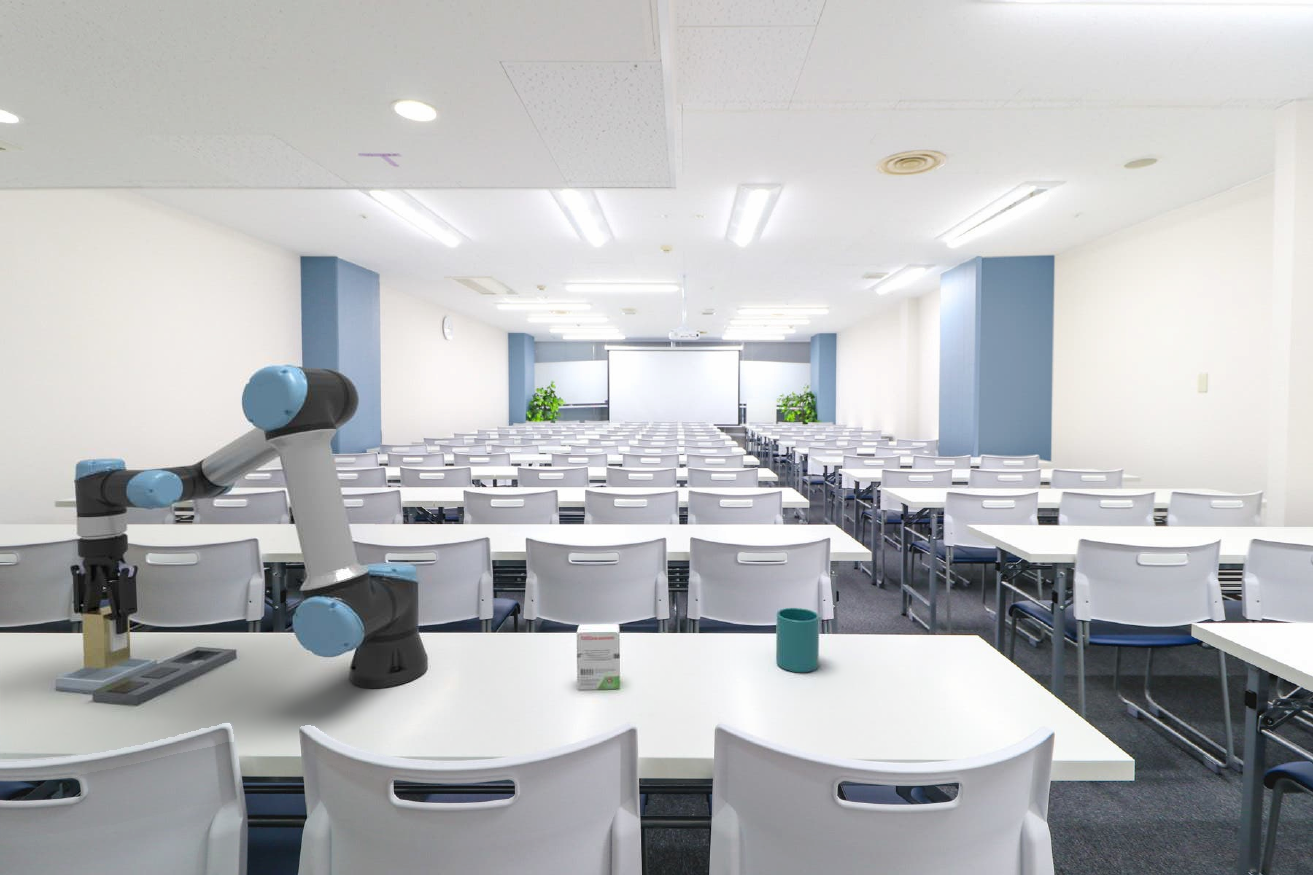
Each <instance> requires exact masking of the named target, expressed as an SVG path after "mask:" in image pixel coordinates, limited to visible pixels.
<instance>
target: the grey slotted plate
mask: <svg viewBox="0 0 1313 875" xmlns="http://www.w3.org/2000/svg"><path fill="white" fill-rule="evenodd" d="M237 654H238V653H237V649H235V648H234V649H233V648H220V647H207V646H195V647H194V648H191V649H188V650H187V651H184V652H181V653H180V654H177V655H174V656H172V657H171V658H170V657H169V658H168V659H166V660H162V661H161V662H160V661H159V662H157V664H156V665H153V666H151V667H148V668H146V669H144V670H141V671H139V672H137V673H134V674H132V675H129V676H127V677H125V678H122V679H120V680H118V681H115V682H113V683H110V684H108V685H106V686H103V687H101V688H99V689H96V690H94V691H92V692H93V694H92V702H95V703H107V704H116V705H117V704H118V705H127V706H137V707H138V706H140V705H143V704H144V703H146V702H148V701H150V700H152V699H154V698H157V697H159V696H161V695H163V694H165V693H167V692H169V691H171V690H174V689H175V688H178V687H180V686H182V685H184V684H186V683H188V682H190V681H192V680H194V679H196V678H197V679H198V677H201V676H203V675H205V674H207V673H209V672H211V671H213V670H215V669H217V668H220V667H221V666H223V665H226V664H228V663H230V662H232V661H234V660H236V659H238V658H237V657H238V655H237ZM196 660H201V661H200V662H198V663H192V662H194V661H196Z"/></svg>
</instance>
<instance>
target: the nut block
mask: <svg viewBox="0 0 1313 875" xmlns="http://www.w3.org/2000/svg"><path fill="white" fill-rule="evenodd" d="M119 612H120V611H119ZM81 617H82V618H81V619H82V640H83V641H82V642H83V643H82V645H83V646H82V648H83V650H82V651H83V667H84V668H94V669H107V668H110V667H112V666H115V665H118V664H120V663H123V662H125V661H128V660H130V657H131V636H130V635H131V633H130V632H131V631H130V615H129V616H128V631H127V647H125V648H122V649H119V650H117V651H114V652H110V629H109V618H112V617H113V616H112V612H111V608H110V605H106V606H104V607H103V606H102V607H100V608H99V609H96V610H93V611H90V612H86V613H83V614H82V615H81Z"/></svg>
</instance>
